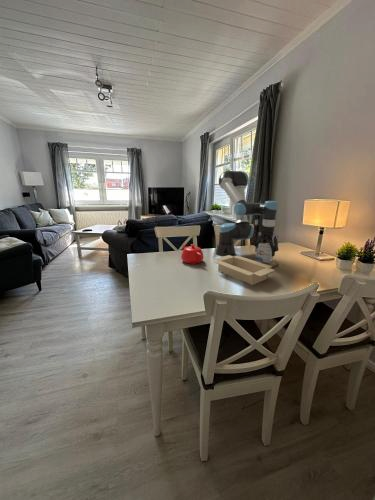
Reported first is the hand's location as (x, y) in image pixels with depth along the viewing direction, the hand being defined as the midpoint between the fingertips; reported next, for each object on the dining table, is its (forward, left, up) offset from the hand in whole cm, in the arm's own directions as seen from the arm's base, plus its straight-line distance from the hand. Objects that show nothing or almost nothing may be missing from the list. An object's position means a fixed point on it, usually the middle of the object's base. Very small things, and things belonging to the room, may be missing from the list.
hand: (263, 258), depth 143 cm
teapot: (-34, -35, -5) cm, 49 cm away
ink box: (0, 0, -2) cm, 2 cm away
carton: (+2, -26, -4) cm, 26 cm away
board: (0, 0, -4) cm, 4 cm away
